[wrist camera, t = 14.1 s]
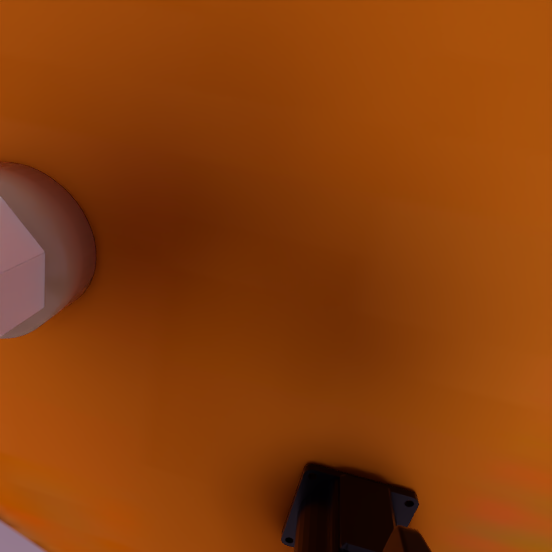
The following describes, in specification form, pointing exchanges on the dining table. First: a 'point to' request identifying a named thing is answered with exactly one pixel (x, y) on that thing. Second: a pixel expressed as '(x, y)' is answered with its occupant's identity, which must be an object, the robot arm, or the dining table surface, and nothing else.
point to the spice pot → (50, 238)
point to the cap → (19, 271)
